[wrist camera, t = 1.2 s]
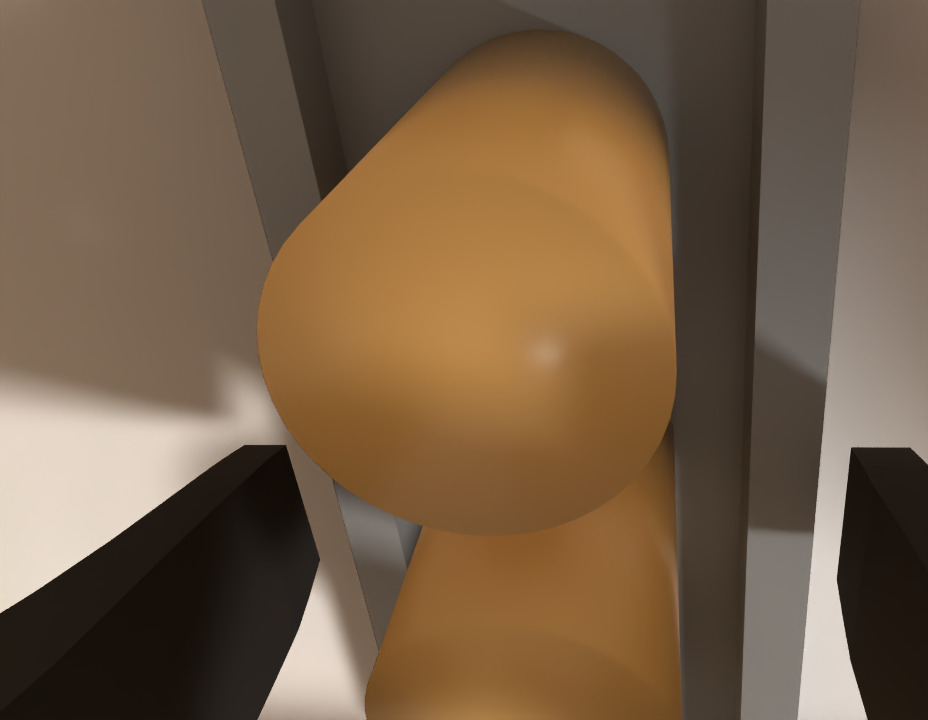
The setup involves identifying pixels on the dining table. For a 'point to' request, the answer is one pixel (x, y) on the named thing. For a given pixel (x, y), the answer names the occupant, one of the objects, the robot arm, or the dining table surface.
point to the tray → (716, 271)
